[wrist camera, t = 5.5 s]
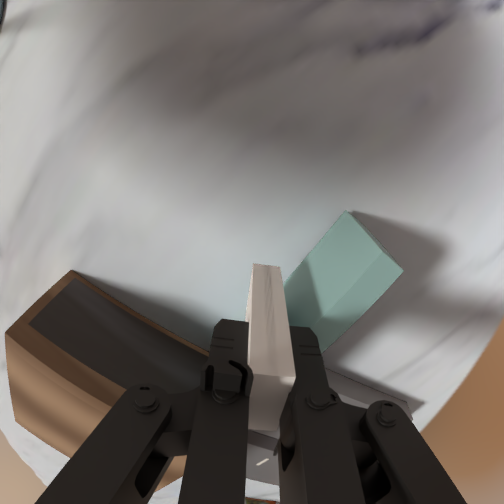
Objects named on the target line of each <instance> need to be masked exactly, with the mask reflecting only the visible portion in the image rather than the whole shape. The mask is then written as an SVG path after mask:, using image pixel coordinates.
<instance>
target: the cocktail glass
mask: <svg viewBox="0 0 504 504" xmlns="http://www.w3.org/2000/svg"><path fill="white" fill-rule="evenodd" d="M2 12H3V0H0V22H1V18H2Z"/></svg>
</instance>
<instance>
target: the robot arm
mask: <svg viewBox="0 0 504 504" xmlns="http://www.w3.org/2000/svg"><path fill="white" fill-rule="evenodd" d="M278 425H280V437H279V440H278V442H277V444H276V447H275V449H274V453H273V456H276V455H277V453H278V467H279V487H280V504H467V503H466V502H465V500H464V498H463V497H462V495H461V494H460V492H459V491H458V489H457V488H456V486H455V485H454V483H453V482H452V480H451V479H450V477H449V476H448V474H447V473H446V471H445V470H444V468H443V467H442V465H441V464H440V462H439V461H438V459H437V458H436V456H435V455H434V453H433V452H432V450H431V449H430V447H429V446H428V445H427V443H426V442H425V440H424V439H423V437H422V436H421V434H420V433H419V431H418V430H417V429H416V427H415V426H414V424H413V423H412V421H411V420H410V419H409V417H408V416H407V414H406V413H405V412H404V410H403V409H402V408H401V407H400V406H399V405H397V404H395V403H393V402H391V401H386V400H380V401H376V402H374V403H372V404H371V405H370V406H369V407H368V409H367V408H362V407H358V406H354V405H350V404H347V403H344V402H343V401H341V399H340V397H339V395H338V393H336V392H335V391H334V390H333V389H332V388H330V387H329V384H328V380H327V375H326V371H325V367H324V363H323V359H322V356H321V350H320V348H319V342H318V338H317V336H316V335H315V333H314V332H313V331H312V330H311V329H310V327H299V326H289V323H288V316H287V309H286V302H285V295H284V289H283V282H282V275H281V269H280V267H277V266H269V265H261V264H253V268H252V275H251V282H250V289H249V295H248V302H247V309H246V317H245V322H244V321H235V320H228V319H221V320H220V321H219V322H218V323H217V324H216V326H215V327H214V331H213V336H212V342H211V347H210V352H209V357H208V361H207V362H206V363H204V365H203V367H202V368H201V375H200V385H199V386H198V387H197V388H195V389H194V390H191V391H189V392H184V393H176V394H167V392H166V391H165V390H164V389H162V388H160V387H159V386H157V385H153V384H149V383H147V384H137V385H135V386H132V387H130V388H129V389H128V390H126V391H125V392H124V393H123V395H122V396H121V397H120V398H119V399H118V401H117V402H116V403H115V404H114V406H113V407H112V408H111V409H110V410H109V412H108V413H107V414H106V415H105V417H104V418H103V419H102V420H101V421H100V423H99V424H98V425H97V426H96V428H95V429H94V430H93V431H92V433H91V434H90V435H89V436H88V437H87V439H86V440H85V441H84V442H83V444H82V445H81V446H80V447H79V449H78V450H77V451H76V452H75V454H74V455H73V456H72V457H71V459H70V460H69V461H68V462H67V464H66V465H65V466H64V467H63V469H62V470H61V471H60V472H59V474H58V475H57V476H56V477H55V479H54V480H53V481H52V482H51V484H50V485H49V486H48V487H47V489H46V490H45V491H44V493H43V494H42V495H41V496H40V497H39V499H38V500H37V501H36V502H35V504H147V503H148V502H149V500H150V498H151V497H152V495H153V493H154V491H155V490H156V488H157V486H158V485H159V483H160V481H161V479H162V478H163V476H164V474H165V472H166V471H167V469H168V467H169V465H170V464H171V462H172V460H173V458H174V457H175V456H185V455H187V458H186V463H185V468H184V474H183V479H182V484H181V490H180V495H179V501H178V504H244V503H245V483H246V463H247V442H248V429H254V430H269V431H277V428H278Z"/></svg>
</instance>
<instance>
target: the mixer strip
mask: <svg viewBox="0 0 504 504" xmlns="http://www.w3.org/2000/svg"><path fill="white" fill-rule="evenodd" d="M325 371H326V375H327V380H328V384H329V387H330V388H332V389H333V390H334V391H335V392H336V393H338V395H339V397H340V399H341V401H343V402H344V403H347V404H350V405H354V406H358V407H362V408H367V409H368V407H369V406H370V405H371V404H372V403H374V402H376V401H380V400H386V401H391V402H393V403H395V404H397V405H399V406H400V407H401V408H402V409H403V410H404V412H405V413H406V414H407V416H408V417H409V419H410V420H411V421H412V420H413V418H412V415H411V413H410V410H409V407H408V405H407V402H404V401H402V400H399V399H397V398H394V397H392V396H389V395H387V394H384V393H382V392H379V391H377V390H374V389H372V388H370V387H367V386H365V385H363V384H360V383H358V382H356V381H353V380H351V379H349V378H346V377H344V376H342V375H340V374H337V373H335V372H333V371H331V370H328V369H326V368H325ZM279 437H280V425H278V428H277V431H269V430H254V429H248V442H247V463H246V478H248V479H252V480H256V481H260V482H264V483H269V484H273V485H278V486H279V467H278V453H277V455H276V456H273V453H274V449H275V447H276V444H277V442H278V440H279Z"/></svg>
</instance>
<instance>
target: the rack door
mask: <svg viewBox="0 0 504 504" xmlns="http://www.w3.org/2000/svg"><path fill="white" fill-rule="evenodd" d="M403 271H404V270H403V269H402V268H401V267H400V266H399V264H398V263H397V262H396V261H395V260H394V259H393V257H392V256H391V255H390V254H389V253H388V252H387V251H386V249H385V248H384V247H383V246H382V245H381V244H380V243H379V242H378V240H377V239H376V238H375V237H374V236H373V235H372V234H371V233H370V232H369V231H368V229H367V228H366V227H365V226H364V225H363V224H362V223H361V222H359V221H358V220H357V219H356V218H355V217H353V216H352V215H351V214H350V213H349V212H347V211H346V210H345V211H344V213H343V214H342V215H341V216H340V218H339V219H338V220H337V221H336V222H335V224H334V225H333V226H332V227H331V228H330V230H329V231H328V232H327V233H326V234H325V236H324V237H323V238H322V239H321V240H320V242H319V243H318V244H317V245H316V246H315V248H314V249H313V250H312V251H311V252H310V253H309V255H308V256H307V257H306V258H305V259H304V260H303V262H302V263H301V264H300V265H299V266H298V267H297V269H296V270H295V271H294V272H293V273H292V274H291V275H290V277H289V278H288V279H287V280H286V281H285V282H284V284H283V289H284V295H285V302H286V309H287V316H288V323H289V326H299V327H310V329H311V330H312V331H313V332H314V333H315V335H316V336H317V338H318V342H319V348H320V350H321V354H322V353H323V352H324V351H325V350H326V349H327V348H328V347H329V346H331V345H332V344H333V343H334V342H335V341H336V340H337V339H338V338H339V337H340V336H341V335H342V334H343V333H344V332H345V331H347V330H348V329H349V328H350V327H351V326H352V325H353V324H354V323H355V322H356V321H357V320H358V319H359V318H360V317H361V316H362V315H363V314H364V313H365V312H366V311H367V310H368V309H369V308H370V307H371V306H372V305H373V304H374V303H375V302H376V301H377V300H378V298H379V297H380V296H381V295H382V294H383V293H384V292H385V291H386V290H387V289H388V288H389V287H390V286H391V285H392V284H393V282H394V281H395V280H396V279H397V278H398V277H399V276H400V275H401V274H402V272H403Z"/></svg>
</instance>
